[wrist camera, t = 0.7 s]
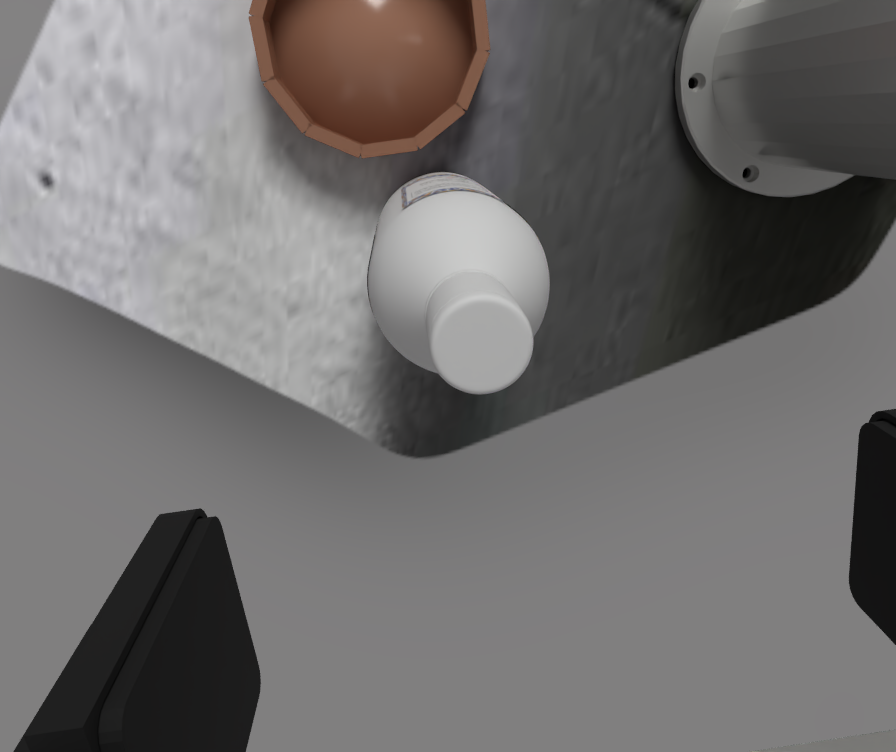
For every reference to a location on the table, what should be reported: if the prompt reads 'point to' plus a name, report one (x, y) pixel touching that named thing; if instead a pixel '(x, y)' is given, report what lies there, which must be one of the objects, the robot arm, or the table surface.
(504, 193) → the table surface
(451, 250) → the bath foam
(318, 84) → the ring dish
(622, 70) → the table surface
